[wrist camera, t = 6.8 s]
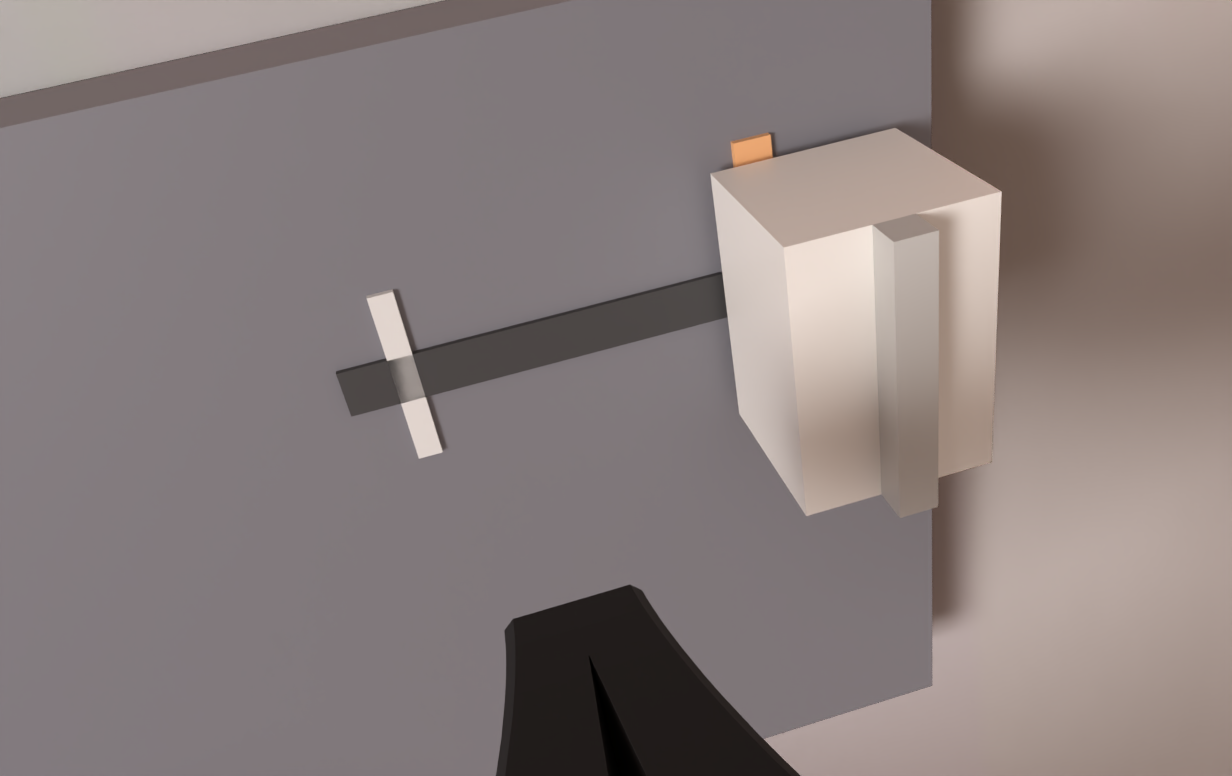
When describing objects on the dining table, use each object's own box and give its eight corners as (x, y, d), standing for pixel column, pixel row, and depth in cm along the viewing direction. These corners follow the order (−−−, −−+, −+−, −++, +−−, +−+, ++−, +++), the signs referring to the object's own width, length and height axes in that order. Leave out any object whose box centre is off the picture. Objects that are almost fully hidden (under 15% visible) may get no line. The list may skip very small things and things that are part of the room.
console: (133, 857, 23) (116, 947, 21) (-335, 171, 14) (-429, 226, 13) (891, 625, 25) (934, 689, 23) (869, -94, 16) (935, -79, 15)
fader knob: (739, 414, 18) (822, 541, 15) (710, 173, 16) (801, 265, 13) (900, 369, 18) (1013, 484, 15) (895, 127, 16) (1027, 207, 13)
